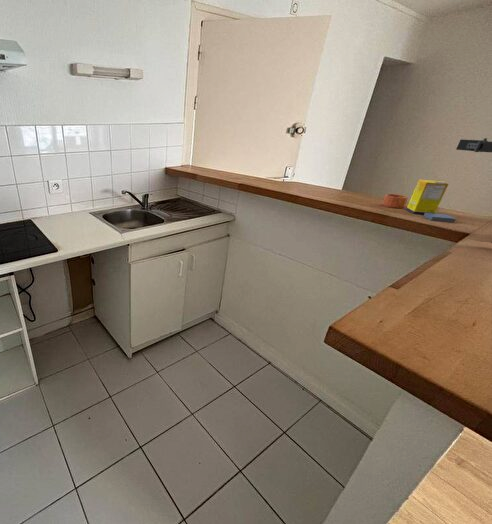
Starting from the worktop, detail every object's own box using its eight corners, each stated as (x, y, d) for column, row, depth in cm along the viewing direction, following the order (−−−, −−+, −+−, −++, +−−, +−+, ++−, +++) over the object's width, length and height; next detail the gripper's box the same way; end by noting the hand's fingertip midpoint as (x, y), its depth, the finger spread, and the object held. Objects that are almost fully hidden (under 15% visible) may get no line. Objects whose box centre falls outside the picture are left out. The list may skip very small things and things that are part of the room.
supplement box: (425, 211, 101) (439, 180, 97) (434, 215, 96) (449, 183, 92) (405, 209, 103) (418, 178, 98) (412, 213, 98) (427, 181, 93)
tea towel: (445, 218, 94) (447, 214, 93) (454, 222, 90) (456, 218, 89) (423, 216, 96) (424, 212, 95) (430, 220, 92) (432, 216, 91)
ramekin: (399, 205, 109) (403, 194, 107) (407, 209, 103) (411, 198, 102) (379, 203, 111) (382, 193, 109) (385, 207, 105) (389, 197, 104)
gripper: (521, 168, 64) (434, 158, 83) (629, 168, 64) (517, 158, 83) (542, 132, 61) (446, 130, 80) (656, 132, 61) (533, 130, 80)
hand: (482, 144), depth 81 cm, fingers open, 13 cm apart
